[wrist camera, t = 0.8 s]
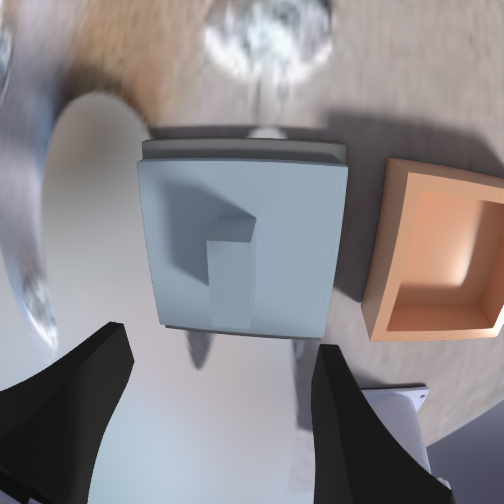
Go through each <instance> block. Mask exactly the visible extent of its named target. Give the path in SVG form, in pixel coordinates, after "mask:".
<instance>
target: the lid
mask: <svg viewBox="0 0 504 504" xmlns="http://www.w3.org/2000/svg"><path fill="white" fill-rule="evenodd" d="M137 168H138V180H139V190H140V199H141V208H142V216H143V224H144V231H145V238H146V246H147V253H148V259H149V266H150V272H151V278H152V283H153V289H154V294H155V300H156V306H157V310H158V316H159V321H160V324H164V325H171V326H180V327H188V328H197V329H206V330H216V331H227V332H238V333H250V334H264V335H279V336H296V337H318V338H323V337H324V332H325V327H326V322H327V316H328V311H329V305H330V300H331V294H332V288H333V282H334V276H335V270H336V263H337V257H338V250H339V243H340V236H341V228H342V220H343V212H344V204H345V195H346V186H347V176H348V167H347V165H346V164H337V163H325V162H311V161H295V160H276V159H249V158H162V159H142V160H140V161H139V162H137Z"/></svg>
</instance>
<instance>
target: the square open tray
mask: <svg viewBox="0 0 504 504" xmlns="http://www.w3.org/2000/svg"><path fill="white" fill-rule="evenodd" d="M361 309H362V313H363V316H364V320H365V324H366V328H367V332H368V336H369V340H370V341H433V340H456V339H472V338H486V337H497V335H498V333H499V331H500V329H501V327H502V325H503V323H504V178H500V177H496V176H491V175H487V174H482V173H478V172H473V171H468V170H463V169H458V168H452V167H447V166H441V165H436V164H430V163H424V162H417V161H411V160H404V159H397V158H389V157H387V163H386V171H385V179H384V186H383V194H382V200H381V207H380V213H379V219H378V225H377V231H376V237H375V242H374V247H373V253H372V258H371V263H370V268H369V272H368V277H367V282H366V286H365V290H364V295H363V299H362V303H361Z"/></svg>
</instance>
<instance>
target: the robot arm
mask: <svg viewBox="0 0 504 504" xmlns="http://www.w3.org/2000/svg"><path fill="white" fill-rule="evenodd" d="M133 364H134V358H133V355H132V351H131V348H130V345H129V341H128V338H127V335H126V331H125V327H124V324H122V323H116V322H109V323H107V324H106V325H104V326H103V327H102V328H100V329H99V330H98V331H96V332H95V333H94V334H92V335H91V336H90V337H89V338H87V339H86V340H85V341H83V342H82V343H81V344H79V345H78V346H77V347H75V348H74V349H73V350H72V351H70V352H69V353H68V354H66V355H65V356H63V357H62V358H60V359H59V360H57V361H56V362H55V363H53V364H52V365H50V366H49V367H47V368H46V369H44V370H42V371H41V372H39V373H38V374H36V375H34V376H32V377H30V378H29V379H27V380H25V381H23V382H20V383H18V384H16V385H14V386H12V387H10V388H8V389H5V390H3V391H0V504H87V502H88V495H89V488H90V483H91V477H92V473H93V469H94V465H95V461H96V457H97V454H98V450H99V447H100V444H101V441H102V438H103V435H104V432H105V430H106V427H107V425H108V423H109V421H110V419H111V416H112V414H113V412H114V410H115V408H116V406H117V404H118V402H119V400H120V398H121V396H122V393H123V391H124V389H125V387H126V385H127V383H128V380H129V377H130V374H131V371H132V367H133ZM428 393H429V388H428V387H414V388H399V389H376V390H361V389H360V387H359V386H358V384H357V382H356V380H355V379H354V377H353V375H352V373H351V371H350V369H349V367H348V365H347V363H346V361H345V359H344V357H343V354H342V352H341V350H340V347H339V346H338V345H331V344H320V346H319V351H318V355H317V360H316V364H315V369H314V373H313V378H312V387H311V412H312V424H313V436H314V448H315V489H314V503H313V504H456V502H455V498H454V496H453V492H452V490H451V488H450V486H449V483H448V482H447V481H446V480H442V478H438V479H436V478H435V477H433V476H432V475H431V471H430V466H429V462H428V457H427V452H426V448H425V444H424V439H423V435H422V431H421V427H420V423H419V419H418V415H417V411H418V409H419V408H420V406H421V405H422V403H423V401H424V400H425V398H426V396H427V395H428Z"/></svg>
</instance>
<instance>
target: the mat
mask: <svg viewBox="0 0 504 504" xmlns="http://www.w3.org/2000/svg"><path fill="white" fill-rule="evenodd" d="M142 153H143V159H162V158H249V159H276V160H295V161H311V162H325V163H337V164H346V154H347V145H346V144H345V143H335V142H323V141H309V140H293V139H273V138H228V137H216V138H172V139H151V140H145V141H143V142H142ZM165 326H166V328H173V329H181V330H189V331H198V332H207V333H217V334H228V335H239V336H251V337H265V338H280V339H297V340H320V341H321V338H318V337H296V336H279V335H264V334H250V333H238V332H227V331H216V330H206V329H197V328H188V327H180V326H171V325H165Z"/></svg>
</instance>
